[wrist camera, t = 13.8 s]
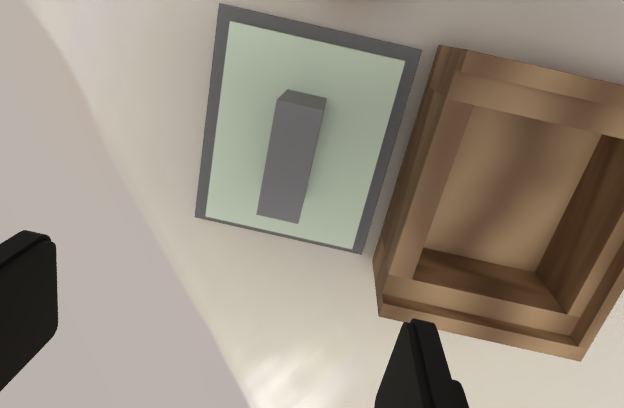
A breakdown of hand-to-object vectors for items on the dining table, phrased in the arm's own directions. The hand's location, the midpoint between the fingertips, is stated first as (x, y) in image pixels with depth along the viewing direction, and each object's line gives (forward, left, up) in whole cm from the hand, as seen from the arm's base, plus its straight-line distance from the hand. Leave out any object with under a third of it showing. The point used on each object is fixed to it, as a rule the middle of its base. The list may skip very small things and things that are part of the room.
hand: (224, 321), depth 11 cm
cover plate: (0, 0, -20) cm, 20 cm away
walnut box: (0, +14, -20) cm, 24 cm away
